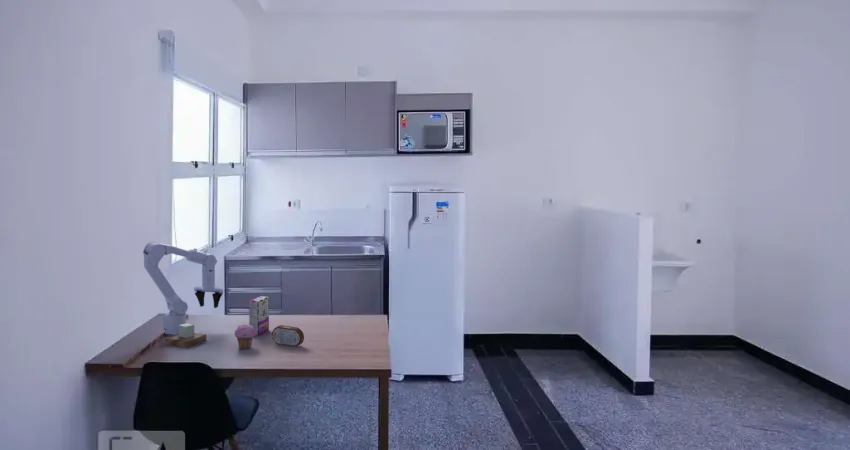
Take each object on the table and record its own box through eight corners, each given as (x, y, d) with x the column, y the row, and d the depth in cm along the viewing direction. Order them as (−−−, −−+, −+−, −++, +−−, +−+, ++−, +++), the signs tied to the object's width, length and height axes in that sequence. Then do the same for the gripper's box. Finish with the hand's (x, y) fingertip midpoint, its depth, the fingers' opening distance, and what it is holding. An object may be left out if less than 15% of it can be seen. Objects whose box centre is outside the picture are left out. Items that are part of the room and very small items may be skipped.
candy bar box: (259, 329, 295) (259, 295, 294) (269, 330, 294) (269, 296, 293) (248, 335, 284) (248, 300, 283) (258, 336, 283) (258, 301, 282)
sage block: (178, 336, 267) (178, 325, 267) (187, 334, 271) (187, 323, 271) (185, 338, 265) (186, 326, 265) (194, 335, 269) (194, 324, 268)
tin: (304, 346, 269) (304, 327, 269) (300, 348, 266) (300, 329, 266) (274, 342, 274) (275, 323, 273) (270, 344, 271) (271, 325, 270)
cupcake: (233, 345, 267) (234, 322, 266) (254, 344, 270) (254, 321, 269) (235, 351, 259) (235, 327, 258) (256, 349, 262) (256, 326, 261)
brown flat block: (165, 345, 264) (165, 338, 263) (182, 338, 275) (182, 331, 275) (189, 348, 261) (189, 341, 260) (206, 340, 272) (206, 334, 272)
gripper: (226, 278, 294) (227, 306, 295) (200, 276, 297) (200, 304, 299) (218, 280, 287) (218, 309, 288) (191, 279, 291) (191, 307, 292)
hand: (208, 306), depth 293 cm, fingers open, 7 cm apart
